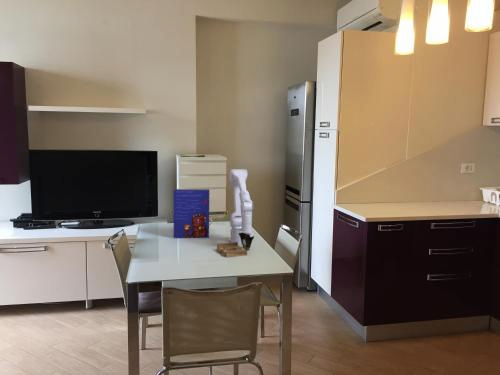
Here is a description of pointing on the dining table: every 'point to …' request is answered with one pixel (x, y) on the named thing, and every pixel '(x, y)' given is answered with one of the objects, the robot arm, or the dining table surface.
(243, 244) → the bushing
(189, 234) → the cereal box
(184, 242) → the dining table surface
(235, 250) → the jig
